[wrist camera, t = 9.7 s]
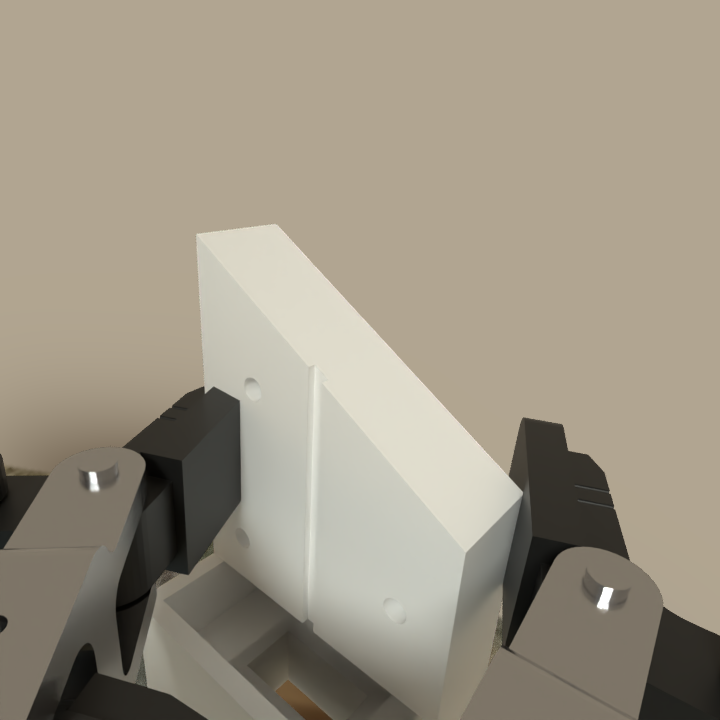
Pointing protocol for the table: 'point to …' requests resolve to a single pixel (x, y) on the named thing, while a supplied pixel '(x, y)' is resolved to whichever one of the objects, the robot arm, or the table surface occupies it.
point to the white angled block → (331, 515)
